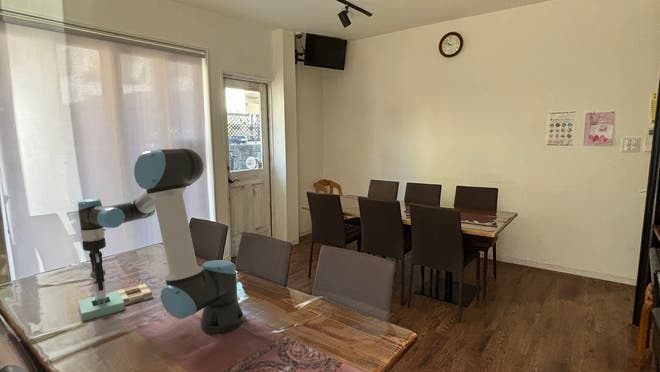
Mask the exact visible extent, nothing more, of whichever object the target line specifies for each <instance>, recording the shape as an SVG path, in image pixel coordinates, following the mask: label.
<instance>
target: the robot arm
mask: <svg viewBox="0 0 660 372" xmlns="http://www.w3.org/2000/svg"><path fill="white" fill-rule="evenodd" d="M204 169H205V166H204V161H203V159H202V157H201V156H200V155H199V153H197V152H196V151H195V150H193V149H189V148H185V147H184V148H166V149H163V148H162V149H161V148H160V149H152V150H146V151H144V152H142V153H141V154H140V155H139V156H138V157H137V160H136V161H135V163H134V168H133V172H134V173H133V174H134V179H135V181H136V184H137V185H138V187H139V188H141V189H144V190H145V191H144V192H143V193H142V194H141V195H139V196H138V197H137V198H135V199H134V200H132V201H128V202H124V203H118V204H113V205H107V206H105V205H104V206H103V204H102V201H101V199H100V198H87V199H82V200H80V201H78V202H77V212H78V219H79V226H80V236H81V240H82V242H81V243H82V249H83V250H84V251H85V252H89V253H88V256H89V261H90V264H91V273H92V272H94V271H95V278H96V282H94V284H96V291H97V299H100V298H104V297H106V295H105V287H106V285H105V286H104V280H105V279H104V278H105V275H103V270H104V269H103V267H104V266H103V264H104V263H103V252H102V251H101V249H102V250H103V249H105V248H106V246H107V245H106V244H107V241H106V238H105V231H106V230H107V229H114V228H118V227H120V226H122V224H126V223H129V222H134V221H139V220H143V219H147V218H149V217H152V216H154V215H155V212H156V217H157V220H158V221H157V222H158V225H159V229H160V235H161V240H162V244H163V245H162V246H163V248H164V253H165V258H166V262H167V267H168V274H167V275H166V276H165V283H166V284H165V286H164V287H163V288H162V289H161V292H160V301H161V303H162V304H161V305H162V306H163V308H164V309H165V311H166V313H168V314H169V315H170V316H172V317H173V318H175V319H178V320H179V319H180V320H181V319H182V320H183V319H186V318H187V317H190V316H193V315H195V314H196V313H198V312H199V311H202V313H201V317H200V329H201V330H202V331H203V332H205V333H208V334H224V333H228V332H230V331H231V332H232V331H234V330H236V329H237V328H238V327H240V326H241V325H242V324H243V323H244V311H243V310H242V307H241V305H240V302H239V300H238V287H237V286H238V283H237V271H236V270H237V268H236V265H235V263H234V262H232V261H230V260H226V259H225V260H224V259H217V260H215V259H214V260H213V259H212V260H209V261H205V262H203V263H202V264H201V266H200V265H198V263H197V257H196V253H195V248H194V245H193V244H194V243H193V238H192V233H191V229H190V225H189V219H188V215H187V209H186V205H185V200H184V195H183V194H184V192H185V191H186V189H187V187H190V186H192V185H193V184H194V183H196V182H197V181H198V180H199V179H200V178H201V177H202V175H203V173H204ZM106 228H107V229H106ZM105 281H106V280H105Z"/></svg>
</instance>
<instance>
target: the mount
mask: <svg viewBox="0 0 660 372" xmlns="http://www.w3.org/2000/svg"><path fill="white" fill-rule="evenodd" d="M116 291H118V292H119V293H120V295H121V297H122V299H123V301H124V306H127V305H131V304H134V303H138V302H141V301H145V300H149V299H152V298H153V292H152V291H151V289H150V288H149V286H148V285H147V283H141V284H137V285H133V286H129V287H125V288H120V289H117V290H116Z"/></svg>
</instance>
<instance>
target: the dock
mask: <svg viewBox="0 0 660 372" xmlns="http://www.w3.org/2000/svg"><path fill="white" fill-rule="evenodd" d="M106 295H107V303H105V304H101V305H97V306H96V305H95V296H92V297H91V296H90V297H87V298H83V299H79V300H78V307H79V312H80V317H81V320H82V322H85V321H88V320H92V319H96V318H100V317H103V316H106V315H110V314H113V313H118V312H120V311H124V310H125V306H126V305H124V301H123V299H122V297H121V295H120V293H119V292H118V291H117V290H114V291H111V292H108V293H107V292H106Z"/></svg>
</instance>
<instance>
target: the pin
mask: <svg viewBox="0 0 660 372" xmlns="http://www.w3.org/2000/svg"><path fill="white" fill-rule="evenodd" d="M89 275H90V278H91V279H92V287H93V297H95V305H96V306H97V305H101V304H105V303H107V295H106V294H107V288H106V282H105V281H106V280H104V286H105V295H106V297H104V298H100V299H97V291H96V284H94V282H96V278H95V271H94V272H92V271H91V272H90V274H89ZM103 275H104V276H106V270H104V269H103ZM104 279H105V277H104Z"/></svg>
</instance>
